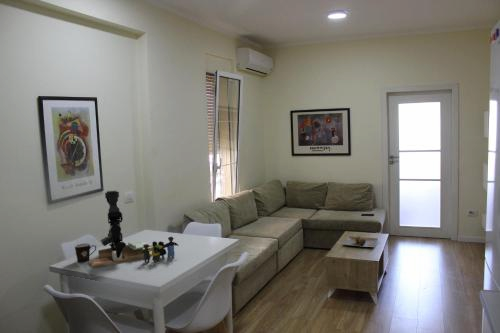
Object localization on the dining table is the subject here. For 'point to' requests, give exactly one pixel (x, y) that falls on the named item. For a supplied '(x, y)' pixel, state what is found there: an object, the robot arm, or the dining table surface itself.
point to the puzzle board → (106, 260)
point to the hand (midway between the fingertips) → (117, 256)
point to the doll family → (159, 250)
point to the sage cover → (138, 245)
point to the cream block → (114, 256)
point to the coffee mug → (83, 252)
